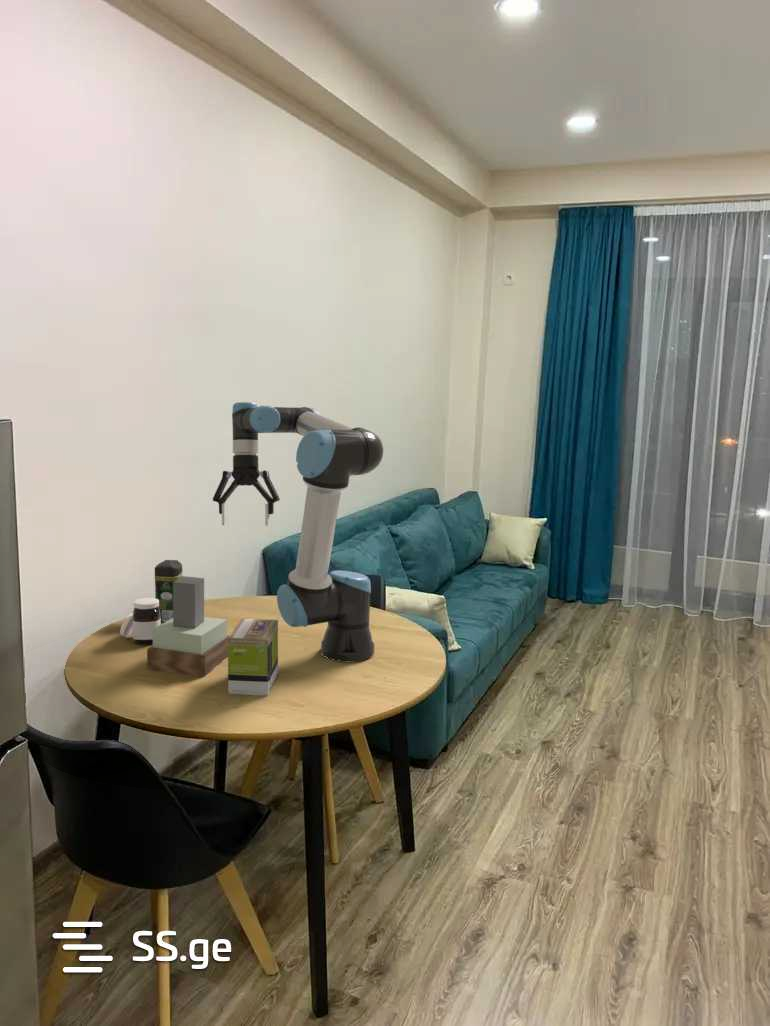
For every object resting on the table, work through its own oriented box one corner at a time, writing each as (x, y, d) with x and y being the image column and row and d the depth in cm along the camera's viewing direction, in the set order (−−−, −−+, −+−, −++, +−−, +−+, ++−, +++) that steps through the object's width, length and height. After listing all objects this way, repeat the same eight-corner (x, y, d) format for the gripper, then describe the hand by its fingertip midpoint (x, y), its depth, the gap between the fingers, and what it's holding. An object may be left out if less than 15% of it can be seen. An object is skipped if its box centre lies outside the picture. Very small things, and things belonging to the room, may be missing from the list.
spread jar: (160, 645, 214) (159, 605, 212) (117, 647, 211) (117, 607, 209) (161, 631, 225) (161, 593, 223) (121, 633, 222) (121, 595, 220)
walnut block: (229, 656, 209) (229, 635, 208) (205, 678, 193) (205, 655, 192) (175, 650, 212) (175, 629, 211) (147, 671, 196) (147, 649, 195)
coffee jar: (160, 614, 241) (159, 557, 238) (185, 615, 241) (185, 558, 238) (152, 624, 231) (151, 565, 228) (178, 624, 232) (177, 565, 229)
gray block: (204, 621, 203) (204, 578, 201) (195, 628, 197) (194, 584, 195) (183, 619, 204) (182, 576, 202) (173, 626, 198) (172, 582, 196)
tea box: (240, 671, 198) (241, 616, 195) (278, 673, 197) (280, 618, 195) (226, 694, 183) (227, 636, 180) (268, 697, 183) (269, 638, 180)
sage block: (226, 637, 206) (226, 619, 205) (201, 654, 193) (201, 635, 192) (180, 631, 210) (180, 613, 209) (152, 647, 196) (152, 628, 196)
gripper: (289, 454, 229) (289, 524, 230) (210, 455, 233) (211, 524, 234) (282, 453, 221) (282, 526, 222) (201, 454, 225) (202, 525, 226)
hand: (246, 525), depth 228 cm, fingers open, 13 cm apart
